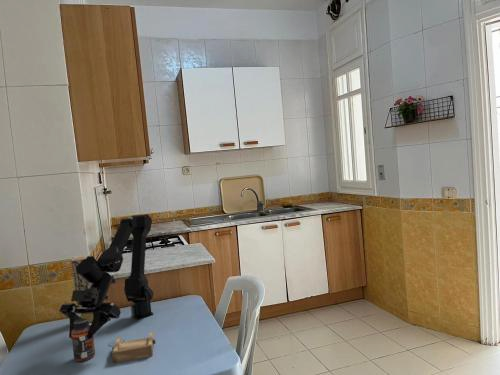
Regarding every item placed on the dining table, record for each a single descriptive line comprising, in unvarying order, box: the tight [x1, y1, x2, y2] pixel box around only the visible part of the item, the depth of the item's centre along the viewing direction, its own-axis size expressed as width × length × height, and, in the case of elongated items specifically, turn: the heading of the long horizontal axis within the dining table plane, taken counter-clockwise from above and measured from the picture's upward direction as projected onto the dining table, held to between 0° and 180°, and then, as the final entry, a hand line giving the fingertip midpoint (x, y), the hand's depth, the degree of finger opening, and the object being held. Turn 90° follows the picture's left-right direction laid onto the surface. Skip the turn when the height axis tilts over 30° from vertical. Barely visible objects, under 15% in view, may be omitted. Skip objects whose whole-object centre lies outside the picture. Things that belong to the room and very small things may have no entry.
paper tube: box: [71, 254, 93, 323], centre depth 146 cm, size 7×7×25 cm
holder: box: [111, 330, 157, 364], centre depth 115 cm, size 11×13×3 cm
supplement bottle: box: [71, 319, 96, 362], centre depth 114 cm, size 6×6×11 cm
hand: (79, 338), depth 113 cm, fingers closed on supplement bottle, 6 cm apart
